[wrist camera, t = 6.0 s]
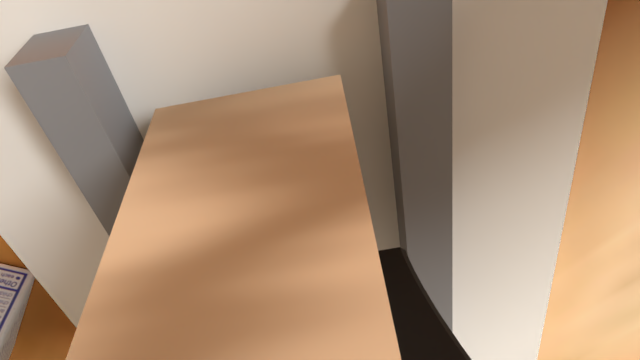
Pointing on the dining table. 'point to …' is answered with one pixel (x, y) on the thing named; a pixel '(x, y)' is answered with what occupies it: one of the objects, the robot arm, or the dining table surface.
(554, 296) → the dining table surface
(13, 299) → the medicine box
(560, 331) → the dining table surface
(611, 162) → the dining table surface
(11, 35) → the rail plate
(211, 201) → the block
